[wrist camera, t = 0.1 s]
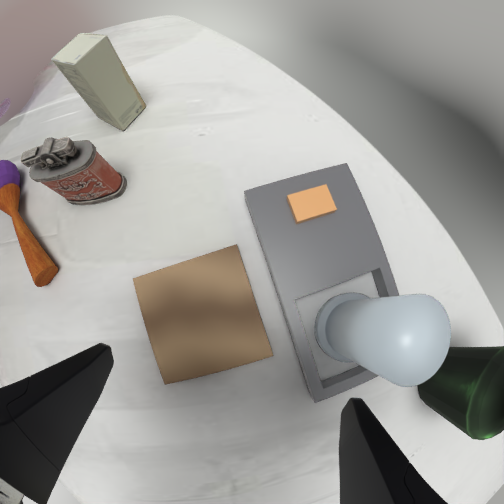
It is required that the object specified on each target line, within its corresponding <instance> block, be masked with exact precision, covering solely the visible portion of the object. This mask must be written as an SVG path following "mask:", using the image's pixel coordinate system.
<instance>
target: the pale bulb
mask: <svg viewBox="0 0 504 504" xmlns="http://www.w3.org/2000/svg"><path fill="white" fill-rule="evenodd" d="M315 336H316V340H317V342H318V344H319V346H320V347H321V349H322V350H323V351H324V352H325V353H326V354H328V355H329V356H331V357H332V358H334V359H336V360H338V361H341V362H355V363H357V364H359V365H361V366H362V367H364V368H366V369H368V370H370V371H371V372H373V373H375V374H377V375H379V376H381V377H382V378H384V379H386V380H388V381H390V382H392V383H394V384H396V385H398V386H403V387H412V386H416V385H419V384H421V383H423V382H425V381H427V380H428V379H429V378H431V377H432V376H433V375H434V374H435V373H436V372H437V371H438V369H439V368H440V367H441V365H442V363H443V362H444V360H445V358H446V355H447V353H448V350H449V346H450V340H451V326H450V321H449V317H448V314H447V312H446V310H445V308H444V307H443V306H442V304H441V303H440V302H439V301H438V300H436V299H435V298H434V297H432V296H429V295H426V294H411V295H402V296H392V297H381V298H369V297H367V296H365V295H363V294H359V293H347V294H341V295H337V296H335V297H333V298H331V299H330V300H328V301H327V302H326V303H325V304H324V305H323V306H322V308H321V309H320V311H319V313H318V315H317V317H316V321H315Z"/></svg>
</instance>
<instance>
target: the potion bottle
mask: <svg viewBox="0 0 504 504" xmlns="http://www.w3.org/2000/svg"><path fill="white" fill-rule="evenodd" d="M418 388H419V393H420V398H421V399H422V400H423V401H424V402H425V404H426V405H428V406H429V407H430V408H432V409H433V410H435V411H436V412H437V413H439V414H440V415H441V416H443V417H444V418H445V419H447V420H448V421H449V422H451V423H452V424H453V425H455V426H456V427H457V428H459V429H460V430H462V431H463V432H464V433H466V434H467V435H468V436H470V437H471V438H472V439H478V440H484V439H488V438H492V437H494V436H496V435H497V434H499V433H501V432H502V431H503V430H504V346H501V347H449V350H448V353H447V355H446V358H445V360H444V362H443V363H442V365H441V367H440V368H439V369H438V371H437V372H436V373H435V374H434V375H433V376H432V377H431V378H429V379H428V380H427V381H425V382H423V383H421V384H419V387H418Z"/></svg>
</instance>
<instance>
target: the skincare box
mask: <svg viewBox="0 0 504 504" xmlns="http://www.w3.org/2000/svg"><path fill="white" fill-rule="evenodd" d="M52 61H53V62H54V63H55V65H56V66H57V67H58V68H59V70H60V71H61V72H62V73H63V75H64V76H65V77H66V78H67V80H68V81H69V82H70V83H71V85H72V86H73V87H74V88H75V90H76V91H77V92H78V93H79V95H80V96H81V97H82V98H83V99H84V101H85V102H86V103H87V104H88V106H89V107H90V108H91V109H92V110H93V112H94V113H95V114H96V115H97V116H98V117H99V118H100V119H102V120H104V121H105V122H107V123H109V124H111V125H113V126H114V127H116V128H118V129H120V130H122V131H124V130H125V129H126V127H127V126H128V125H129V124H130V123H131V122H132V121H133V120H134V119H135V118H136V117H137V116H138V115H139V113H140V112H141V111H142V110H143V109H144V108H145V107H146V105H145V103H144V101H143V100H142V98H141V96H140V94H139V93H138V91H137V89H136V87H135V85H134V84H133V82H132V80H131V78H130V77H129V75H128V73H127V71H126V70H125V68H124V66H123V64H122V62H121V61H120V59H119V57H118V55H117V53H116V52H115V50H114V48H113V46H112V44H111V42H110V40H109V38H108V37H107V35H102V34H90V33H80V34H79V35H77V36H76V37H75V38H74V39H73V40H72V41H70V42H69V43H68V44H67V45H66V46H65V47H64V48H62V49H61V50H60V51H59V52H58V53H57V54H56V55H55V56H54V57H53V58H52Z"/></svg>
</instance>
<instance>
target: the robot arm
mask: <svg viewBox="0 0 504 504" xmlns="http://www.w3.org/2000/svg"><path fill="white" fill-rule="evenodd" d="M113 363H114V360H113V356H112V351H111V348H110V346H108V345H106V344H103V343H99V344H97V345H95V346H93V347H90V348H88V349H86V350H84V351H82V352H80V353H78V354H76V355H74V356H72V357H70V358H67V359H65V360H63V361H61V362H59V363H57V364H55V365H53V366H51V367H48V368H46V369H44V370H42V371H40V372H38V373H36V374H33V375H31V376H30V377H27V378H25V379H23V380H20V381H18V382H16V383H13V384H10V385H8V386H5V387H2V388H0V504H23V502H22V499H23V497H24V495H25V496H26V497H28V498H30V499H31V500H33V501H34V502H36V503H38V504H47V501H48V499H49V497H50V495H51V492H52V490H53V488H54V486H55V484H56V481H57V479H58V477H59V475H60V473H61V470H62V468H63V466H64V464H65V462H66V460H67V458H68V456H69V454H70V452H71V450H72V448H73V446H74V444H75V442H76V440H77V438H78V436H79V434H80V433H81V431H82V429H83V427H84V425H85V423H86V421H87V419H88V417H89V416H90V414H91V412H92V410H93V408H94V406H95V405H96V403H97V401H98V399H99V397H100V395H101V393H102V391H103V388H104V386H105V383H106V381H107V379H108V376H109V374H110V372H111V369H112V367H113ZM339 469H340V504H448V503H447V502H445V501H444V500H443V499H442V498H441V497H440V496H439V495H438V494H437V493H436V492H435V491H434V490H433V489H432V488H431V487H430V486H429V484H428V483H427V482H426V481H425V480H424V479H423V478H422V477H421V476H420V474H419V473H418V472H417V471H416V469H415V468H414V467H413V465H412V464H411V463H409V460H408V459H407V458H406V456H405V455H404V454H403V452H402V451H401V450H400V448H399V447H398V446H397V444H396V443H395V442H394V440H393V439H392V438H391V437H390V435H389V434H388V433H387V431H386V430H385V429H384V427H383V426H382V425H381V423H380V422H379V421H378V419H377V418H376V417H375V415H374V414H373V413H372V411H371V410H370V409H369V407H368V406H367V405H366V404H365V402H364V401H363V400H362V399H361V398H350V399H349V401H348V402H347V404H346V405H345V407H344V408H343V410H342V413H341V424H340V439H339Z"/></svg>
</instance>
